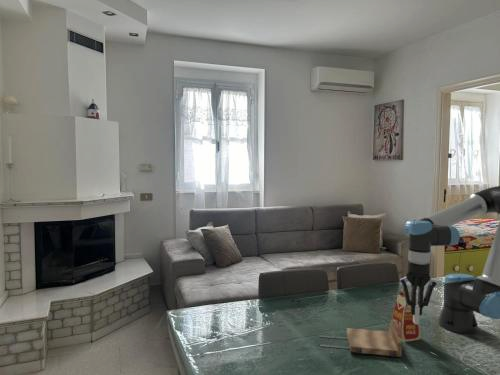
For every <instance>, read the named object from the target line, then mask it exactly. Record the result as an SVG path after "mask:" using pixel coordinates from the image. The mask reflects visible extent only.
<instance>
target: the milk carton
mask: <svg viewBox="0 0 500 375" xmlns="http://www.w3.org/2000/svg"><path fill="white" fill-rule="evenodd" d="M408 293H409V298H410V301H411V290H409V289H408ZM416 305H418V297H416ZM390 325H393V327H394V329H395V331H396V333H397V335H398V337H399V339H400V341H401V342H402V343H405V342H407V343H408V342H413V341H418V340H419V341H420V340H421V322H420V320H419V325H417V324H414V323H413V315H412V314H411V305H408V304H407V303H406V300H405V295H404V290H403V288H401V290H400V292H399V293H398V294H397V298H396V301H395V304H394V308H393V313H392V316H391V321H390Z"/></svg>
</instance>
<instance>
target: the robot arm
mask: <svg viewBox="0 0 500 375" xmlns="http://www.w3.org/2000/svg"><path fill="white" fill-rule="evenodd" d="M489 213H495V214H496V216H497V218H498V219H499V222H498V225H497V228H496V232H495V233H494V238H493V241H492V242H491V246H490V249H489V252H488V255H487V257H486V261H485V264H484V267H483V271H482V273H481V275H479V276H476V277H475V275H472V274H467V273H449V274H446V275H445V276H444V282H443V307H442V309H441V311H440V313H439V316H438V319H437V320H438V325H439V326H440V327H441V328H443V329H445V330H446V331H447V330H448V331H451V332H453V333H459V334H466V335H467V334H468V335H470V334H475V333H478V331H479V330H478V327H479V326H478V325H479V324H478V321H477V319H476V316H475V312H476V313H478V314H480V315H482V316H483V317H486V318H489V319H493V320H500V185H497V186H491V187H488V188H485V189H481V190H480V191H477V192H475V193H472V194H470V195H469V196H468V197H467V199H465V200H462V201H459V202H456V204H453V205H451V206H449V207H448V206H447V207H446V208H444V209H442V210H440V211H439V210H438V212H435V213H432V214H430V215H428V216H425V217H424V218H421V219H418V220H416V219H409V220H407V221H406V222H405V223H404V226H403V232H404V234H405V235H406V236H407V237H408V255H407V256H408V258H407V260H408V262H407V272H406V275H405V276H404V277H400V278H399V281H400V283H401V285H402V289H403V290H404V295H405V300H406V303H407V304H408V305H411V314H412V315H413V323H414V324H417V325H419V321H420V316H422V315H423V309H424V307H428V306H429V303H430V300H431V298H432V294H433V291H434V288H435V287H436V286H437V284H438V283H437V282H436V281H435V280H434V279H432V278H431V275H430V269H431V265H430V263H431V251H432V248H431V247H439V246H440V247H443V246H444V247H449V246H455V245H457V244H458V243H459V242H460V237H461V236H460V235H461V234H460V231H459V230H458V228H456V227H455V226H454V225H456V224H459V223H461V222H463V221H466V220H468V219H470V218H473V217H475V216H484V215H486V214H489ZM407 283H410V286H411V301H410V298H409V293H408V290H409V289H408V285H407ZM426 285H428V286H427V288H426V291H425V286H426ZM417 290H418V291H417ZM424 291H425V294H424ZM416 298H417V302H418V305H416Z"/></svg>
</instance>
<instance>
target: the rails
mask: <svg viewBox="0 0 500 375" xmlns="http://www.w3.org/2000/svg"><path fill="white" fill-rule="evenodd" d="M319 338H326V339H337V340H347V341H348V337H343V336H331V335H319ZM319 346H320V347H322V348H331V349H332V348H333V349H340V350H341V349H344V350H350V347H349V346H340V345H331V344H330V345H329V344H320V345H319ZM402 354H403V353H402V351H401V355H402Z"/></svg>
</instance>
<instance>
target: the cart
mask: <svg viewBox="0 0 500 375" xmlns="http://www.w3.org/2000/svg"><path fill="white" fill-rule="evenodd" d="M388 329H389V330H388V331H386V330H372V329H362V328H354V327H353V328H351V327H350V328H348V327H347V328H346V336H347V337H346V338H348V340H347V342H348V347H350V349H349V351H350V353H357V354H358V355H359V354H367V355H368V354H370V355H377V356H378V355H379V356H388V357H389V356H390V357H392V358H395V357H400V358H401V357H402V354H401V352H402V348H403V345H402V344H403V342H402V341H401V340H400V339H399V337H398V335H397V333H396V331H395V329H394V327H393V325H391V323H390V324H389V327H388Z"/></svg>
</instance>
